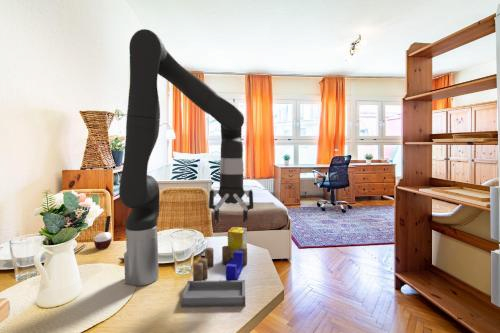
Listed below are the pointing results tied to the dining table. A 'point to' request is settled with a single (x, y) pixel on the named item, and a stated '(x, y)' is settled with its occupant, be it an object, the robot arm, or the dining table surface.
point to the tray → (214, 293)
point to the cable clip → (234, 266)
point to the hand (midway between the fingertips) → (231, 221)
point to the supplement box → (237, 239)
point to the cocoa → (103, 237)
